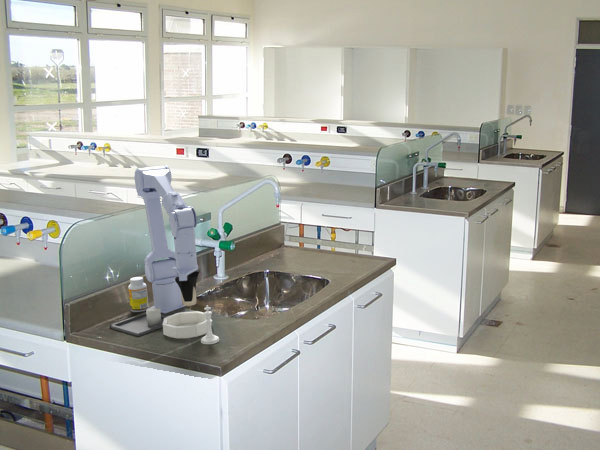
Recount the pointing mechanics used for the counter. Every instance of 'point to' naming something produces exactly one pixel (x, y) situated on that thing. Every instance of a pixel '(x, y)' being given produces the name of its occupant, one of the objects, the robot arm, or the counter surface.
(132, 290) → the supplement bottle
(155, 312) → the pebble grey
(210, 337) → the chess piece
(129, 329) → the tray
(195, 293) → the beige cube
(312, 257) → the counter surface
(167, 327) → the bowl
